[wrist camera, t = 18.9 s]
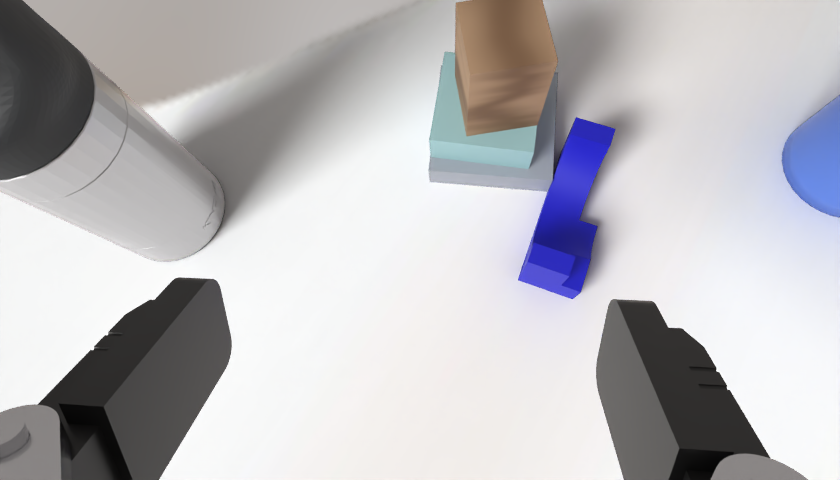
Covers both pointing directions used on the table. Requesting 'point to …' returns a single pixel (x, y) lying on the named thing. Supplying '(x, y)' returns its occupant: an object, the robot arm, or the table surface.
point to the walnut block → (502, 63)
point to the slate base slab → (505, 176)
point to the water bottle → (816, 159)
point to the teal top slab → (481, 148)
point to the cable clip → (567, 214)
